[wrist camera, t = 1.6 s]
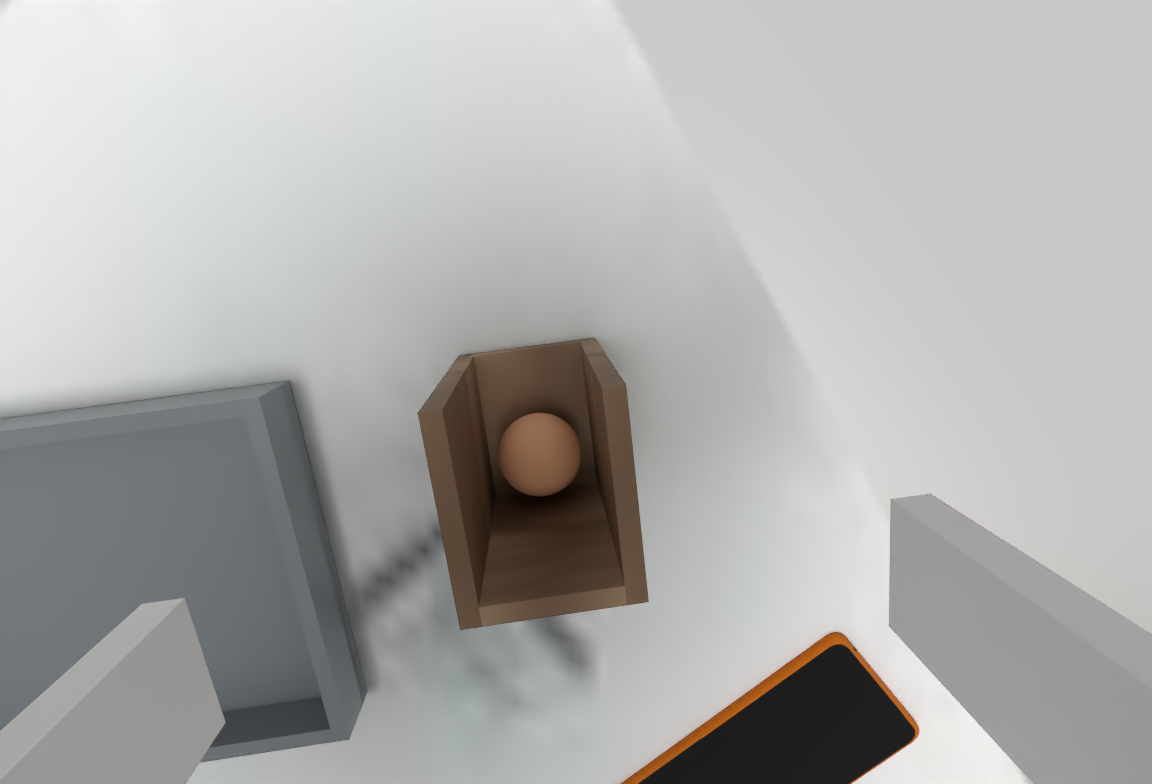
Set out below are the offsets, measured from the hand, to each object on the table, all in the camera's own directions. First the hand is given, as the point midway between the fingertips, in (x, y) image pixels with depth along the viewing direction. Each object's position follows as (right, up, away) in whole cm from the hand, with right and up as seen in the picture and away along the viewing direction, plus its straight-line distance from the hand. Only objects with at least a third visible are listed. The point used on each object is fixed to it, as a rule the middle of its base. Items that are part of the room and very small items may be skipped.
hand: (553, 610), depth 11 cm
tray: (-18, -3, +12) cm, 22 cm away
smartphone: (+8, -14, +18) cm, 24 cm away
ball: (-1, +2, +12) cm, 12 cm away
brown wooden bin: (-1, +3, +12) cm, 12 cm away
